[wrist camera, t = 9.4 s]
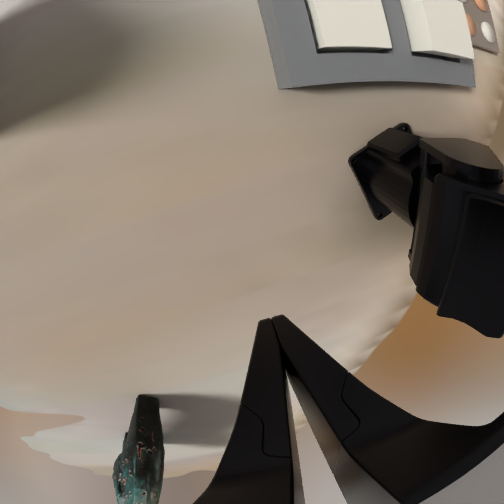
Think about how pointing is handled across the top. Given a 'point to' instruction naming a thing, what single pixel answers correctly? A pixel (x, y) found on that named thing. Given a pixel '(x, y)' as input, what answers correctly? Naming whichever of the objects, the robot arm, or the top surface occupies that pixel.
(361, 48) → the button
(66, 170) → the top surface
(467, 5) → the pattern card
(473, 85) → the control panel
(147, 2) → the top surface
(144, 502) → the ceramic cat
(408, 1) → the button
